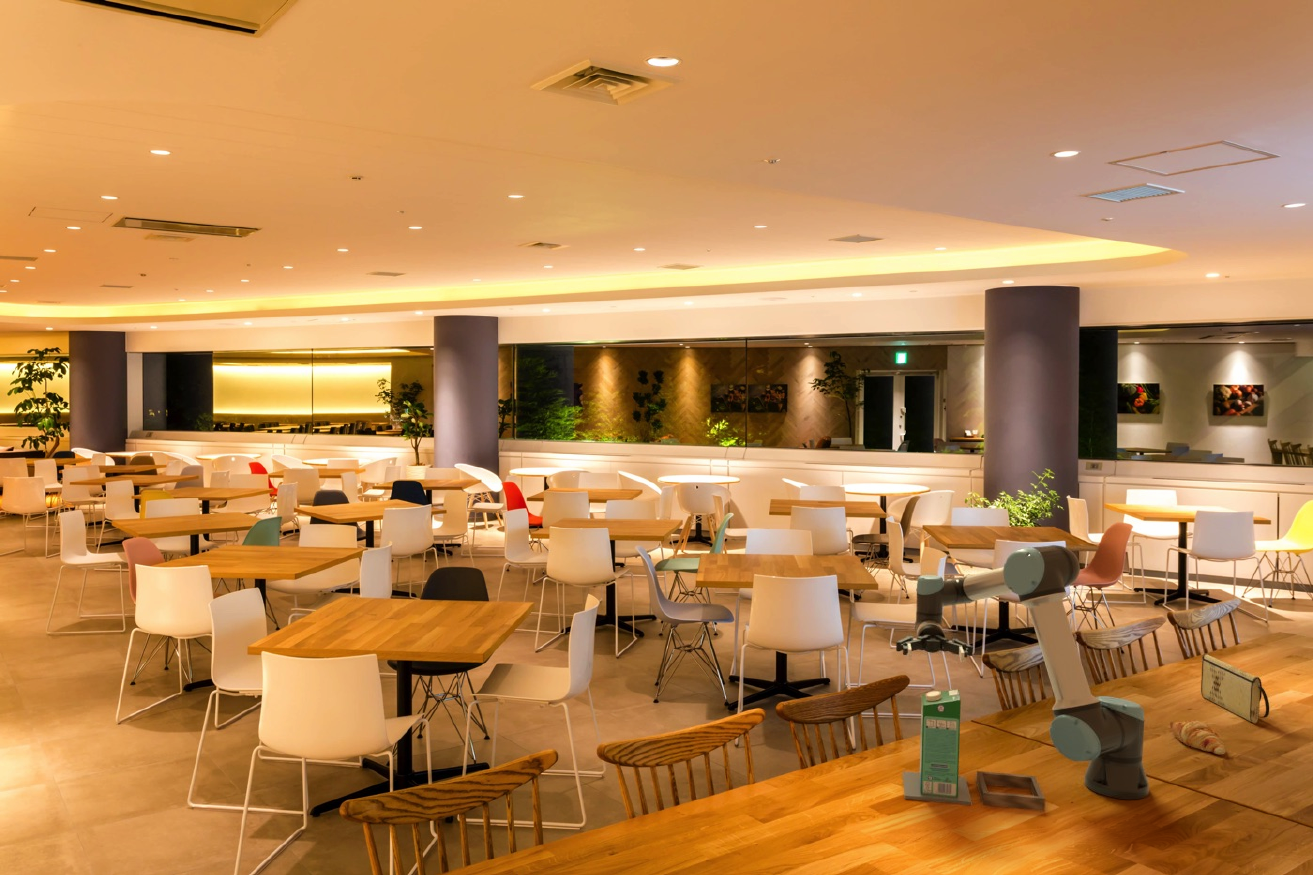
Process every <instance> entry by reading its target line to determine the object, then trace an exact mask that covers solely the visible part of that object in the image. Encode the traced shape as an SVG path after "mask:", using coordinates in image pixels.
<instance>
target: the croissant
mask: <svg viewBox="0 0 1313 875" xmlns="http://www.w3.org/2000/svg"><path fill="white" fill-rule="evenodd" d="M1169 725H1170V729H1171V732H1172V734H1173V736H1174V737H1175V738H1176V739H1177V740H1178V741H1179V742H1180V743H1182V742H1183V744H1185V745H1187V746H1188V747H1190V746H1191V748H1194V749H1198V750H1202V751H1205V752H1208V753H1210V752H1211V753H1213V754H1214V755H1221V756H1222V755H1224V754H1226V747H1225V744H1224V742H1223V741H1222V739H1221V737H1220V735H1219V734H1218V733H1216V732H1214V731H1213V730H1212V728H1211V727H1210V726H1209V725H1208V724H1205V723H1204V722H1202V721H1198V720H1196V719H1193V720H1189V721H1187V720H1186V721H1183V722H1181V721H1176V722H1174V721H1171V722H1170V723H1169Z"/></svg>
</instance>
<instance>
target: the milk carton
mask: <svg viewBox="0 0 1313 875" xmlns="http://www.w3.org/2000/svg"><path fill="white" fill-rule="evenodd" d="M959 691H960V690H959V689H957V688H956V689H949V690H944V691H938V690H933V691H929V692H927V693H925V694H924V693H923V694H921V706H920V707H921V708H920V710H921V711H920V713H921V714H920V716H921V717H920V747H919V773H920V776H919V781H920V793H921V794H930V795H939V796H949V797H958V776H959V773H960V771H959V770H960V769H959V768H960V766H959V765H960V743H961V742H960V739H961V738H960V736H961V709H962V708H961V706H962V705H961V704H962V702H961V701H962V700H961V696H960V692H959Z"/></svg>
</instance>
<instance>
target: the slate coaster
mask: <svg viewBox="0 0 1313 875" xmlns="http://www.w3.org/2000/svg"><path fill="white" fill-rule="evenodd" d="M919 776H920V772H917V771H904V770H902V781H903V782H902V783H903V791H904V792H903V793H904V799H906V800H914V801H915V800H916V801H926V802H934V801H935V803H936V802H937V803H944V802H950V803H949V804H955V803H958V805H965V804H966V805H967V806H972V799H971V798H972V797H971V794H970V791H969V787H968V782H967V780H966V779H967V778H966V776H960V775H958V797H949V796H939V795H930V794H921V793H920V781H919ZM959 803H960V804H959ZM966 805H965V806H966Z"/></svg>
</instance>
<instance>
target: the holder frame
mask: <svg viewBox="0 0 1313 875" xmlns="http://www.w3.org/2000/svg"><path fill="white" fill-rule="evenodd" d="M976 785H978V786H977V789H978V793H979V795H980V800H981V803H982V806H990V807H992V806H993V807H999V808H1000V807H1001V808H1010V809H1021V810H1031V811H1032V810H1033V811H1042V812H1045V809H1046V808H1045V806H1046V805H1045V802H1046V801H1045V800H1046V799H1045V795H1044V794H1043V791H1042V790H1041V787H1040V784H1039V783H1038V780H1037V777H1036V776H1035V775H1025V774H1016V773H1004V772H994V771H993V772H992V771H991V772H990V771H981V770H976ZM994 785H996V786H995V787H1005V788H1006V787H1007V788H1014V789H1015V788H1017V789H1018V788H1019V789H1029V790H1030V791H1031V795H1028V794H1016V793H1005V792H997V791H996V792H995V791H988V788H987V786H994Z"/></svg>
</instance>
